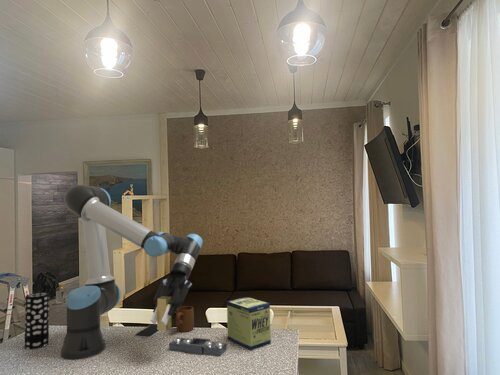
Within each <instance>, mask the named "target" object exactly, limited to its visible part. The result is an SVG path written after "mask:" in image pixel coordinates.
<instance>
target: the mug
mask: <svg viewBox="0 0 500 375" xmlns="http://www.w3.org/2000/svg"><path fill="white" fill-rule="evenodd" d="M194 311H195V310H194V307H193V306H191V305H182V306H181V307H176V316H175V322H176V331H177V332H180V333H188V332H191V331H193V330H194V328H195V324H194V323H195V314H194V313H195V312H194Z"/></svg>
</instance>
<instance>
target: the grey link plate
mask: <svg viewBox="0 0 500 375" xmlns="http://www.w3.org/2000/svg"><path fill="white" fill-rule="evenodd" d="M168 349H169V350H168V351H175V352H184V353H185V354H194V355H201V356H202V355H208V356H209V355H211V356H218V357H221V356H223V354H224V353H225V352H226V351H227V350H228V346H227V342H222V341H214V340H213V341H212V340H211V338H203V337H193V338H185V337H184V338H183V337H174V338H173V340H172V341H170V342H169V343H168Z"/></svg>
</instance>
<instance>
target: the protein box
mask: <svg viewBox="0 0 500 375" xmlns="http://www.w3.org/2000/svg"><path fill="white" fill-rule="evenodd" d="M226 304H227V305H226V312H227V313H226V314H227V315H226V316H227V317H226V318H227V319H226V320H227V321H226V322H227V340H228V341H230V342H233V343H234V344H236V345H239V346H240V347H243V348H245V349H247V350H249V351H253V350H255V349H256V350H257V349H258V348H263V347H265V346H267V345H271V344H272V339H271V338H272V336H271V303H270V302H266V301H262V300H258V299H255V298H252V297H247V296H245V297H240V298H236V299H232V300H231V299H230V300H227V302H226ZM270 343H271V344H270Z"/></svg>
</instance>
